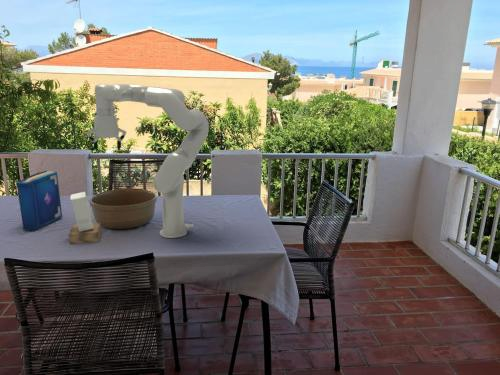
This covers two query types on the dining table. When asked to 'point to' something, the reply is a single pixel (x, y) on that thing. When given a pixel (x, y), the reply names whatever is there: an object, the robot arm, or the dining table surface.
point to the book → (39, 200)
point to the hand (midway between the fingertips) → (107, 150)
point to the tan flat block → (84, 234)
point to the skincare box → (82, 211)
